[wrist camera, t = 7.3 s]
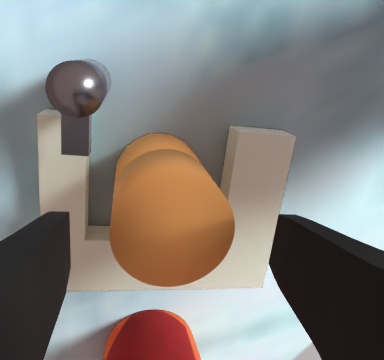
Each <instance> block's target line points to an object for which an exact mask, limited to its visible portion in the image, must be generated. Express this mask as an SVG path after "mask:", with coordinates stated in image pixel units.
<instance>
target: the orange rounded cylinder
mask: <svg viewBox="0 0 384 360" xmlns="http://www.w3.org/2000/svg"><path fill="white" fill-rule="evenodd" d="M234 233H235V219H234V214H233V211H232V208H231V206H230V204H229V202H228V200H227V199H226V197H225V196H224V194H223V193H222V192H221V190H220V189H219V187H218V186H217V185H216V183H215V182H214V180H213V179H212V177H211V176H210V175H209V173H208V172H207V170H206V169H205V168H204V166H203V165H202V163H201V162H200V161H199V159H198V158H197V156H196V155H195V153H194V152H193V151H192V149H191V148H190V147H189V146H188V145H187V144H186V143H185V142H184V141H182V140H181V139H179V138H177V137H175V136H172V135H169V134H164V133H153V134H147V135H144V136H141V137H139V138H137V139H136V140H134V141H132V142H131V143H130V144H129V145H128V146H127V147H126V148H125V149H124V150H123V152H122V153H121V155H120V157H119V159H118V162H117V166H116V173H115V183H114V192H113V202H112V212H111V222H110V233H109V237H110V245H111V250H112V252H113V255H114V257H115V259H116V260H117V262H118V264H119V265H120V266H121V267H122V269H123V270H124V271H126V272H127V273H128V274H129V275H130V276H132V277H133V278H135V279H137V280H139V281H141V282H143V283H146V284H149V285H153V286H160V287H174V286H181V285H186V284H189V283H192V282H194V281H197V280H199V279H201V278H203V277H204V276H206V275H207V274H209V273H210V272H212V271H213V270H214V269H215V268H216V267H217V266H218V265H219V264H220V263H221V262H222V261H223V259H224V258H225V256H226V255H227V253H228V251H229V249H230V247H231V245H232V242H233V238H234Z"/></svg>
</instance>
